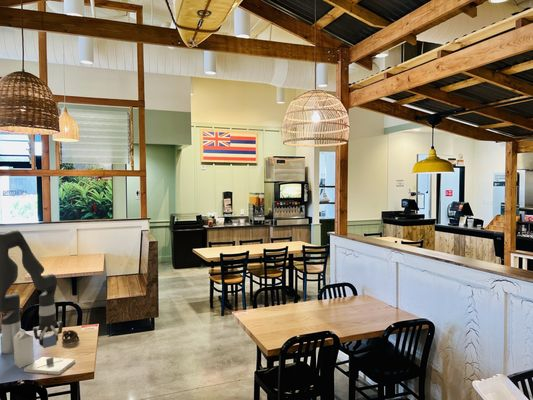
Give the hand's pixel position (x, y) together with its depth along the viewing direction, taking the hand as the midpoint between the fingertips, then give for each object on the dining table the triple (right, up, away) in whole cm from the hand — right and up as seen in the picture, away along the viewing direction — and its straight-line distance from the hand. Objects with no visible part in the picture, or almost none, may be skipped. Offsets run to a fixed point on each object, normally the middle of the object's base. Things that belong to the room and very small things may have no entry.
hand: (48, 343), depth 202 cm
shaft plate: (0, -13, +1) cm, 13 cm away
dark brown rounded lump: (-5, -11, +31) cm, 33 cm away
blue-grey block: (0, -1, 0) cm, 1 cm away
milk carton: (-16, -13, +5) cm, 21 cm away
